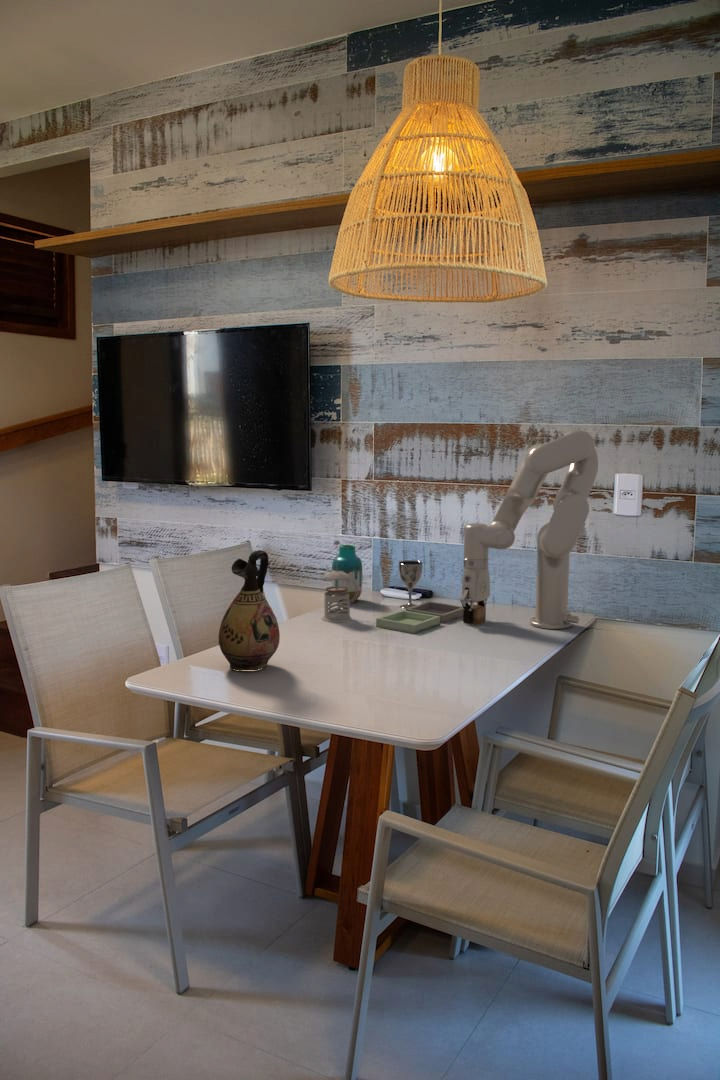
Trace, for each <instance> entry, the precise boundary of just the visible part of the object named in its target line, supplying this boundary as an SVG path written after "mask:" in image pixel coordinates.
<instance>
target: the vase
mask: <svg viewBox="0 0 720 1080" xmlns="http://www.w3.org/2000/svg"><path fill="white" fill-rule="evenodd" d="M338 549H339V550H338V554H337V555H336V556H335V557H334V558H333V560H332V563H331V564H332V566H331V572H333V571H336V570H337V571H341V572H344V573H346V574H348V575H349V576H350V577H349V578H348V579H350V580H352V581H353V582H355V583H356V585H357V587H358V595H357V587H356V589H355V586H356V585H354V583H353V582H352V581H350V584H349V580H348V579H345V580H331V587H333V586H342V587H346V588H348V590H347V591H345V592H347V593H348V594H349V601H350V600H352V599H353V598H354V596H355V598H356V595H357V598H356V599H355V598H354V599H355V600H354V599H353V600H352V601H356V600H357V599H359V598H360V596H361V594H362V591H363V579H364V578H363V574H364V572H363V562H362V560H361V558H360V557H359V556H357V553H356V546H355V545H354V544H340V545H339V548H338ZM347 580H348V583H347ZM355 592H356V595H355ZM333 596H341V595H338V594H335V595H333ZM340 601H343V600H340ZM352 601H350V602H352Z"/></svg>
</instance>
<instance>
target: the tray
mask: <svg viewBox="0 0 720 1080" xmlns="http://www.w3.org/2000/svg"><path fill="white" fill-rule="evenodd" d="M375 625H376V626H375V627H376V628H381V629H387V630H393V631H398V632H404V633H409V634H413V635H414V634H417V633H418V634H419V633H420V632H423V631H426V630H428V629H431V628H434V627H437V626H440V625H441V623H440V617H439V616H434V615H428V614H422V613H416V612H410V611H406V610H403V609H402V610H399V611H395V612H393V613H389V614H386V615H383V616H380V617H377V618H376V619H375Z"/></svg>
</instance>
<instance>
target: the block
mask: <svg viewBox="0 0 720 1080" xmlns="http://www.w3.org/2000/svg"><path fill="white" fill-rule="evenodd" d="M469 606H470V604H469ZM472 610H473V623H466V622H462V623H463V624H468V625H473V626H479V625H481V624H484V623H486V621H487V619H486V618H487V615H486V613H487V606H486V607H485V606H478V605H477V604H474V605H473V608H472Z"/></svg>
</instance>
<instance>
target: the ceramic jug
mask: <svg viewBox="0 0 720 1080" xmlns="http://www.w3.org/2000/svg"><path fill="white" fill-rule="evenodd" d="M258 560H260V561H259V563H260V564H259V568H258V567H257V561H258ZM269 563H270V562H269V554H268V552H266V551H264V550H263V549H260V550H259V549H258V550H254V551H253V552H251V553H250V555H249V556H248V560H247V561H246V560H244V559H242V558H237V559H236V560H235V561H234V562H233V564H232V566H231V571H232V572H231V573H233V574H234V575H235V576H238V577H240V578H242V579H244V583H243V586H242V587H241V589H240V590H239V592H238V593H237V594H236V596H235V597H234V598H233V600H232V602H231V603H230V605H229V607H228V608H227V610H226V611H225V613H224V616H223V617H222V619H221V623H220V627H219V631H218V636H217V637H218V645H219V649H220V652H221V653H222V654H223V656H224V657H225V659H226V661H227V662H228V663H229V666H230V667H231V668H232V669H235V670H258V669H261V668H264V667H265V666H266V667H267V665H268V663H269V660H270V659H271V658H272V657H273V656H274V654H275V653H276V651H277V650H278V648H279V644H280V641H281V640H280V638H281V636H280V635H281V634H280V627H279V623H278V619H277V617H276V614H275V612H274V610H273V609H272V607H271V605H270V604H269V602H268V600H267V598H266V597H265V596H264V595H263V593H264V585H265V579H266V576H267V572H268V569H269ZM230 667H229V668H230ZM266 667H265V668H266ZM231 668H230V669H231ZM265 668H264V669H265ZM232 669H231V670H232Z"/></svg>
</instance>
